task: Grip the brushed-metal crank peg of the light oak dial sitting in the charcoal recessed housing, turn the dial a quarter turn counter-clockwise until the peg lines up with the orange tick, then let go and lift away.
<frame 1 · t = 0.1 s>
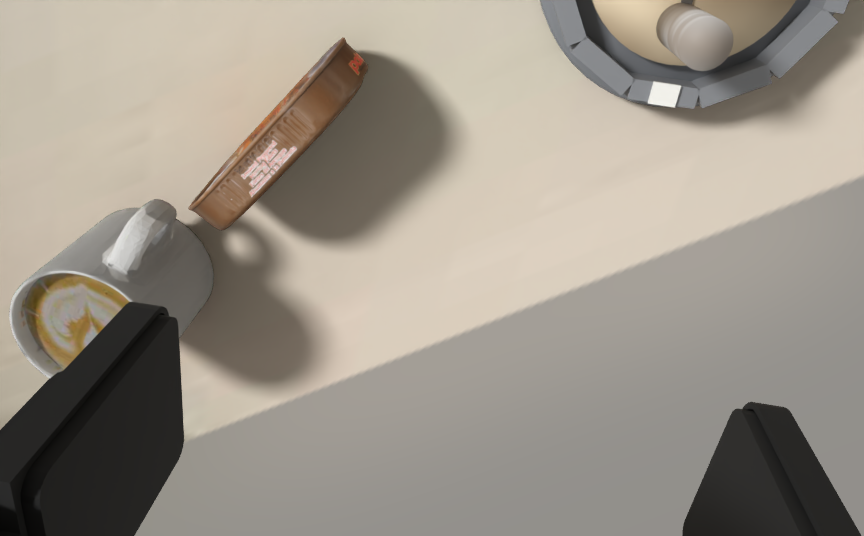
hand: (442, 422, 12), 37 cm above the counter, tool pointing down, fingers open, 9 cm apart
tin: (296, 119, 48), on the counter
coffee mug: (163, 251, 54), on the counter
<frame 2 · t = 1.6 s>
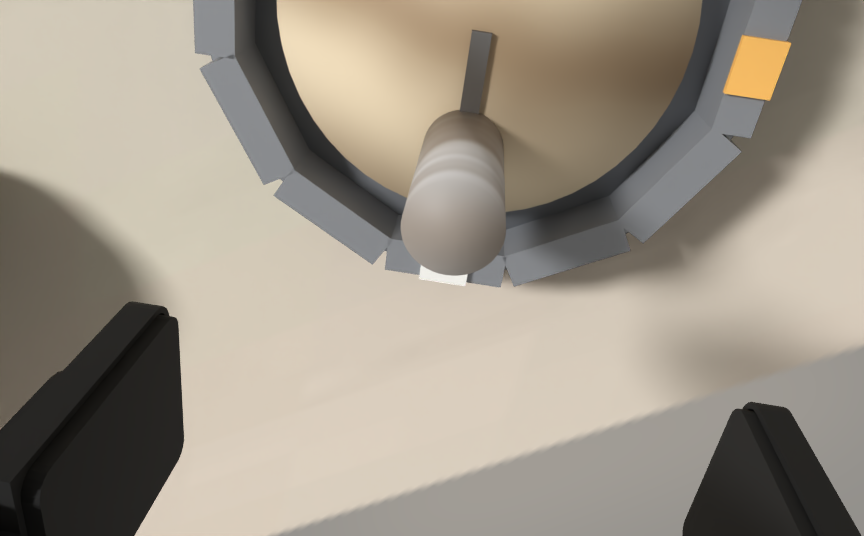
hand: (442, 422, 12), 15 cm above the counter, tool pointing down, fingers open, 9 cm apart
dial housing: (485, 7, 23), on the counter
dial: (482, 36, 18), point 5 cm above the counter, hinge at 0.0°
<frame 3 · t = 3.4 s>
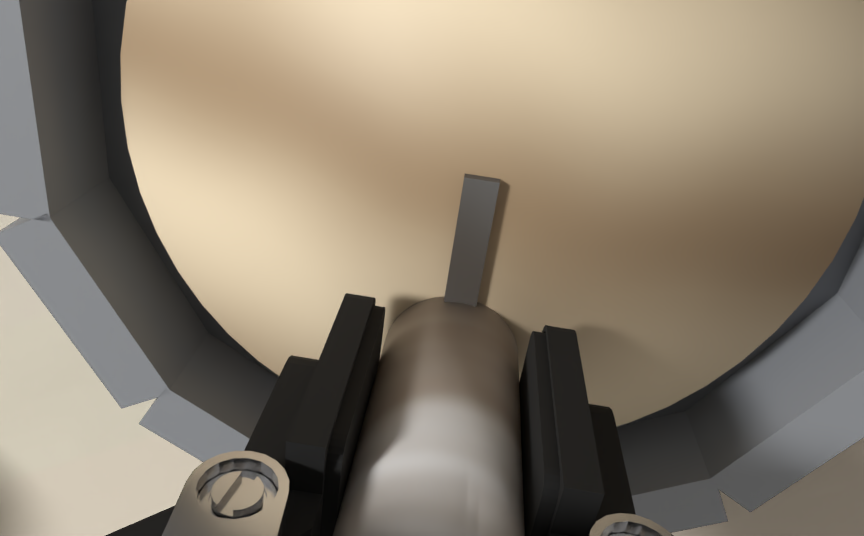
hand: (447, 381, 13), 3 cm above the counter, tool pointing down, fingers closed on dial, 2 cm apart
dial housing: (487, 117, 14), on the counter
dial: (481, 219, 9), point 5 cm above the counter, hinge at 0.0°, touching gripper
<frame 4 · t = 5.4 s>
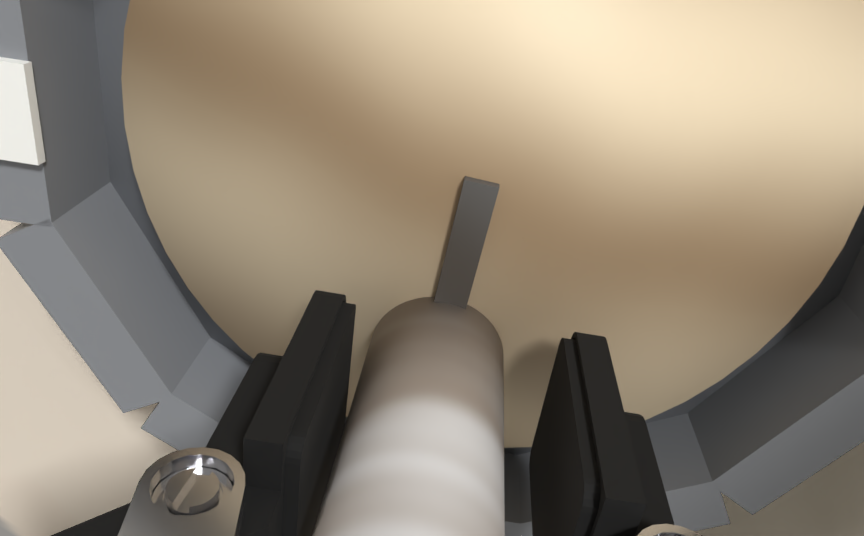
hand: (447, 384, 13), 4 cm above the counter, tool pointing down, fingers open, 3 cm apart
dial housing: (488, 120, 14), on the counter
dial: (483, 224, 9), point 5 cm above the counter, hinge at 85.5°
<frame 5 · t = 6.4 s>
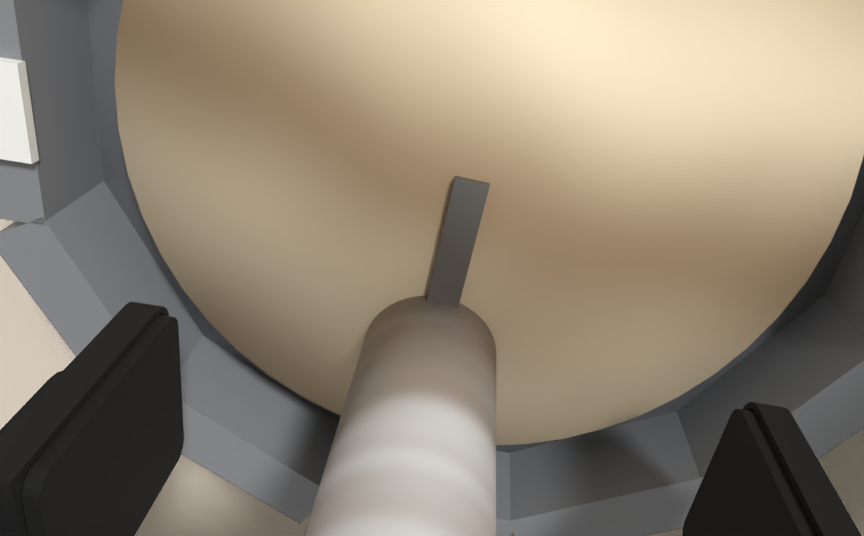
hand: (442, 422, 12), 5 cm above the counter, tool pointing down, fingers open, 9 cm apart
dial housing: (479, 121, 14), on the counter
dial: (471, 222, 9), point 5 cm above the counter, hinge at 86.1°
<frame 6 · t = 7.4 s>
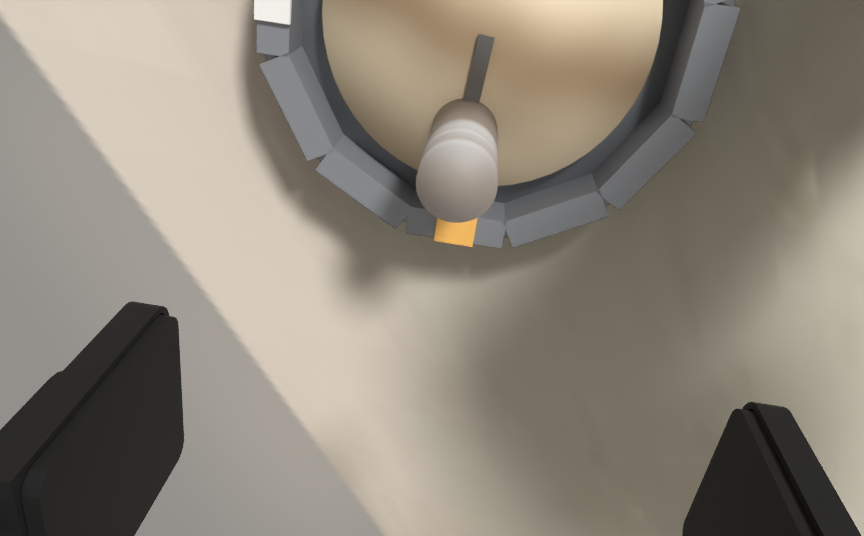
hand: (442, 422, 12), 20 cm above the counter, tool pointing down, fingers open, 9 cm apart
dial housing: (489, 17, 28), on the counter
dial: (487, 38, 23), point 5 cm above the counter, hinge at 86.1°
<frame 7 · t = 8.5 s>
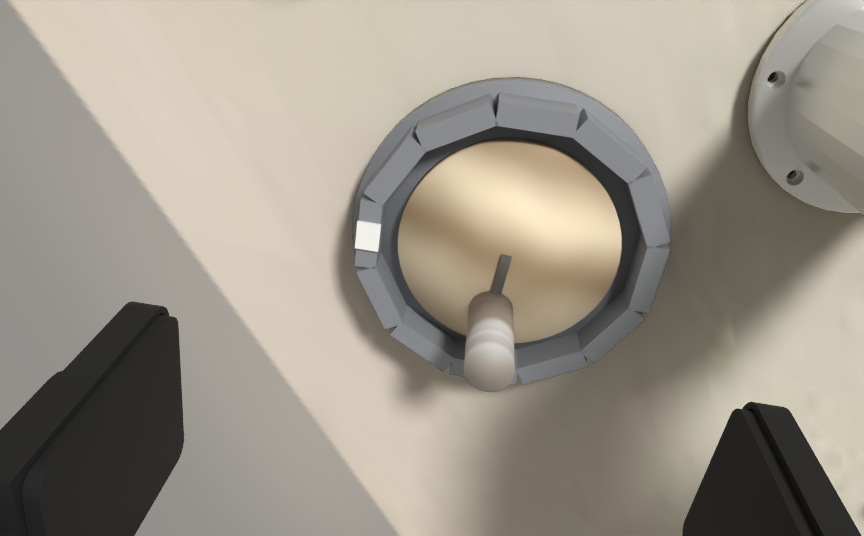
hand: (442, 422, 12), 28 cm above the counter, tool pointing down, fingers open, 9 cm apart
dial housing: (507, 231, 41), on the counter
dial: (508, 271, 36), point 5 cm above the counter, hinge at 86.1°
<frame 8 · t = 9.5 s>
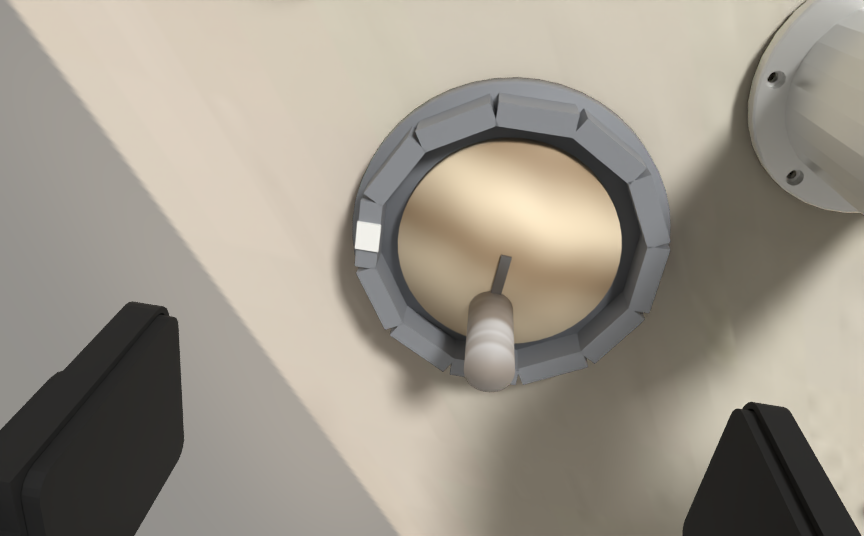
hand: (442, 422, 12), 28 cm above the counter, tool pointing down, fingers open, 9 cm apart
dial housing: (507, 231, 41), on the counter
dial: (508, 271, 36), point 5 cm above the counter, hinge at 86.1°
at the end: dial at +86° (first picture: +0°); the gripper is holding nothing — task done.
